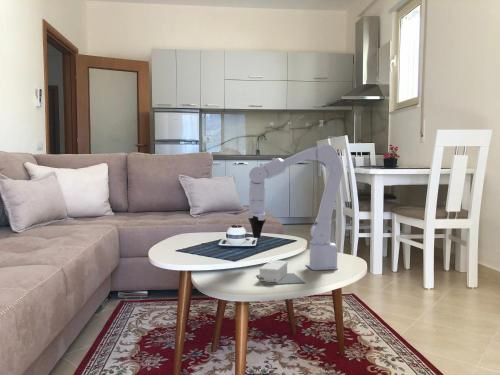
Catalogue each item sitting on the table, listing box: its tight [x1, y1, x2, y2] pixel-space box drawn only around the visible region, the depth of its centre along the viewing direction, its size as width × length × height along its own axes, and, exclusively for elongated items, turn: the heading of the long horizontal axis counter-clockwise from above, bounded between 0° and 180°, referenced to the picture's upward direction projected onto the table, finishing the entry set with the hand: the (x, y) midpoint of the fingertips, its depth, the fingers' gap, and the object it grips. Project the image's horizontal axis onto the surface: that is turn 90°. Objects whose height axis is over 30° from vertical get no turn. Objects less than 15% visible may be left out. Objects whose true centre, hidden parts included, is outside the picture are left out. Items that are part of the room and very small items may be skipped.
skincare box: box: [259, 259, 288, 283], centre depth 135 cm, size 6×4×12 cm
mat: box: [255, 272, 306, 286], centre depth 134 cm, size 13×11×1 cm
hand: (256, 237), depth 151 cm, fingers closed
